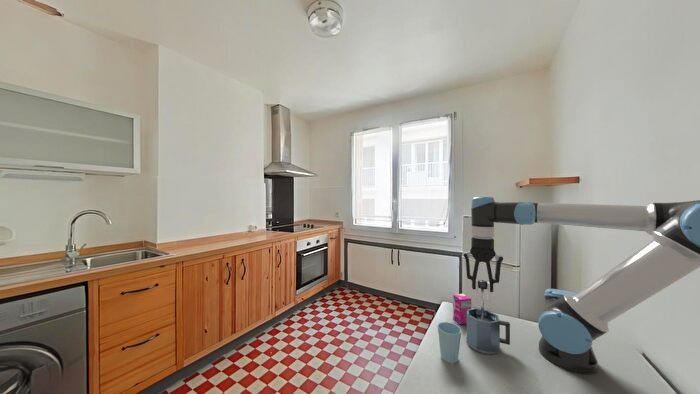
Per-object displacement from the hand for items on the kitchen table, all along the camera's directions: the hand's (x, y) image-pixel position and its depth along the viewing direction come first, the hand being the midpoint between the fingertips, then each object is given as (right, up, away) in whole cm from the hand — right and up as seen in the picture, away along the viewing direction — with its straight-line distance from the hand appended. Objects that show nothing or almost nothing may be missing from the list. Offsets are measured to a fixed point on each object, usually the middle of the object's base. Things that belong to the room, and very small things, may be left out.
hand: (482, 298), depth 88 cm
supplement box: (+1, -18, +17) cm, 25 cm away
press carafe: (+1, -18, -1) cm, 18 cm away
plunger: (0, -9, 0) cm, 9 cm away
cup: (-16, -18, -7) cm, 25 cm away
